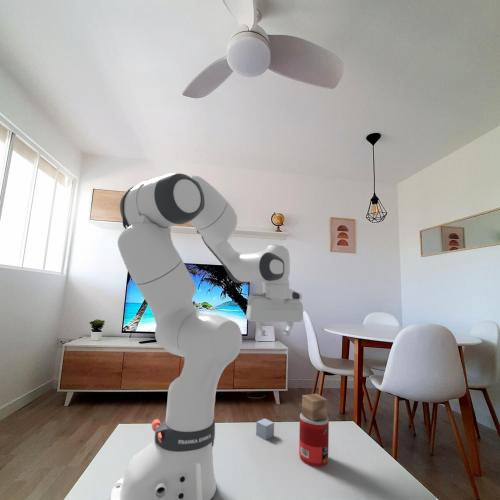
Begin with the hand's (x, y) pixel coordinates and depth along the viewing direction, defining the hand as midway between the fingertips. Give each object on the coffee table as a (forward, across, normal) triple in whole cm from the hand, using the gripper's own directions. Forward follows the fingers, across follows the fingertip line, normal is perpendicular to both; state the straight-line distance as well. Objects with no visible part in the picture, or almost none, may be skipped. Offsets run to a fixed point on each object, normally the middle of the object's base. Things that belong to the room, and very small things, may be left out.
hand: (274, 335), depth 94 cm
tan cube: (+20, +6, -14) cm, 25 cm away
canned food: (+31, +6, -14) cm, 35 cm away
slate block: (+31, -1, +2) cm, 31 cm away
